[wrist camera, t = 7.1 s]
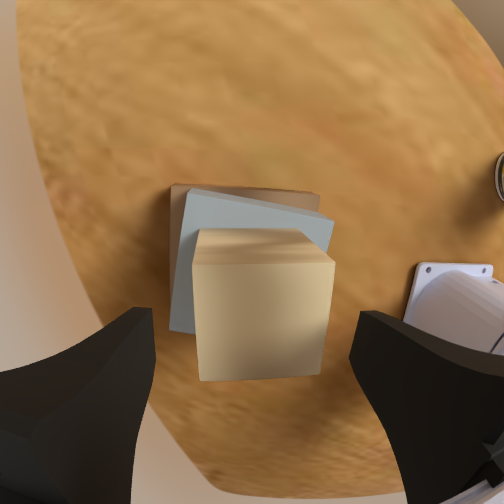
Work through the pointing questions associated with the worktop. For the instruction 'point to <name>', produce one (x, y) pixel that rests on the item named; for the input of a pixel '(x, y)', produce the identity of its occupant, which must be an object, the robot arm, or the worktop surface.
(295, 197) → the walnut slab
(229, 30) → the worktop surface
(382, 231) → the worktop surface
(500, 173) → the supplement bottle
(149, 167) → the worktop surface
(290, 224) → the slate slab
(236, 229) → the oak block
